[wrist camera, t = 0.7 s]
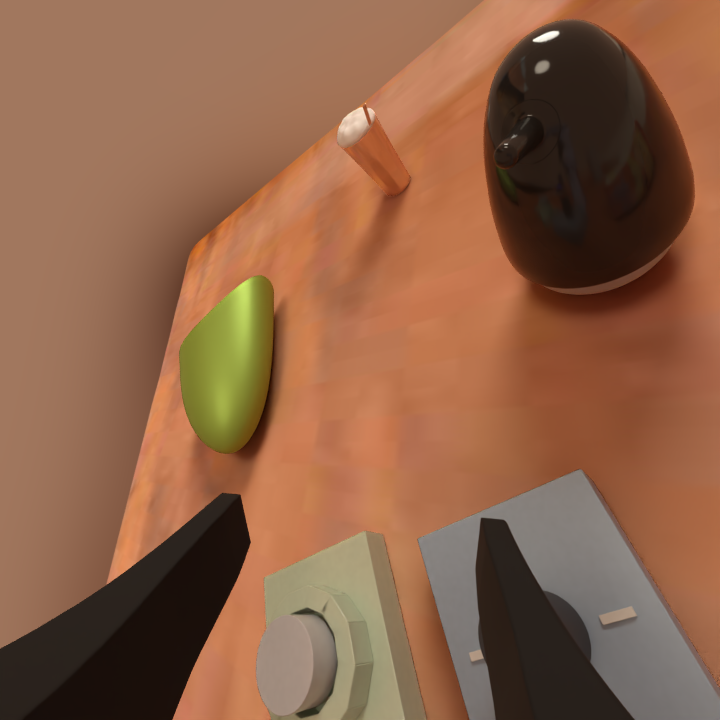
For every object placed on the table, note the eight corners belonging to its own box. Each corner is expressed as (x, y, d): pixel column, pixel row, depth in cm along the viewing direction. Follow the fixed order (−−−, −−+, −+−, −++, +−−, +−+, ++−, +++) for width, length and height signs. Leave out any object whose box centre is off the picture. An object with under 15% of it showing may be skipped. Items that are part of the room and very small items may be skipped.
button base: (438, 768, 21) (398, 793, 18) (301, 791, 25) (250, 816, 22) (382, 533, 28) (348, 527, 26) (284, 578, 32) (244, 576, 29)
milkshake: (408, 201, 43) (351, 125, 36) (375, 201, 47) (318, 133, 40) (428, 166, 43) (375, 85, 36) (393, 170, 47) (340, 97, 40)
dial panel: (780, 788, 15) (793, 821, 12) (527, 816, 18) (502, 846, 16) (592, 480, 22) (579, 467, 20) (439, 543, 26) (415, 538, 24)
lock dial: (609, 676, 16) (591, 691, 14) (528, 695, 18) (497, 712, 15) (563, 579, 19) (540, 576, 16) (494, 602, 20) (461, 603, 17)
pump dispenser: (503, 315, 30) (394, 163, 19) (545, 201, 32) (466, 8, 21) (673, 328, 23) (645, 99, 12) (713, 181, 25) (718, -123, 14)
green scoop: (164, 305, 48) (151, 462, 37) (247, 258, 45) (259, 414, 34) (211, 336, 54) (212, 479, 43) (286, 297, 51) (308, 439, 40)
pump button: (343, 700, 22) (318, 707, 20) (284, 716, 23) (257, 724, 22) (330, 604, 25) (307, 604, 23) (278, 624, 26) (254, 626, 25)
